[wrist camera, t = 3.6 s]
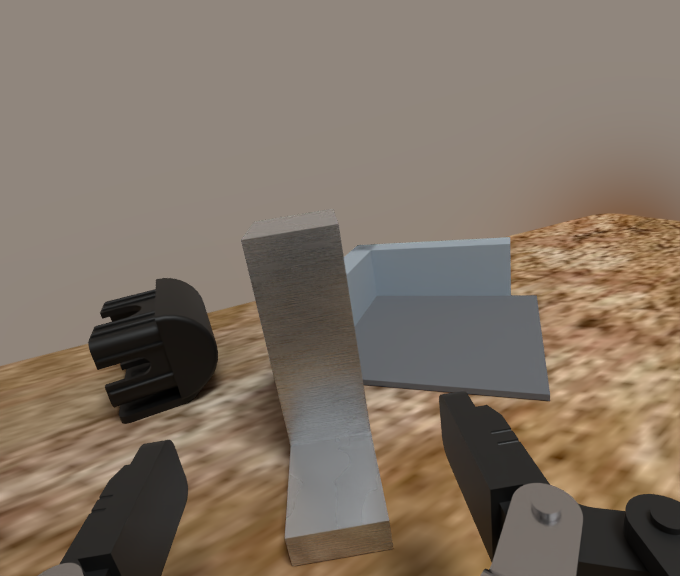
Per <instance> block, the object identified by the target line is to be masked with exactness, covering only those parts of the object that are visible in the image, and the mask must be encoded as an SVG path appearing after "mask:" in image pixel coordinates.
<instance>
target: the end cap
mask: <svg viewBox="0 0 680 576" xmlns="http://www.w3.org/2000/svg"><path fill="white" fill-rule="evenodd" d="M100 314H101V316H102V318H106V317H110V318H111V320H112V322H109V323H106V324H102V325H98V326H96V327H94V330H93V332H92V334H91V336H90V339H89V342H88V343H89V349H90V353H91V355H92V358H93V360H94V362H95V365H96V367H97V370H99V369H102V368H106V367H109V366H112V365H116V364H119V363H121V368H122V370H124V369H126V375H125V379H122V380H119V381H116V382H113V383H109V384H106V385H105V389H106V392H107V394H108V396H109V399H110V401H111V404H112V405H113V407H117V406H120V410H119V417H120V419H121V421H122V423H125V424H127V423H131V422H134V421H137V420H140V419H143V418H146V417H149V416H152V415H155V414H158V413H161V412H163V411H166V410H169V409H172V408H175V407H178V406H181V405H184V404H186V403H187V402H189V401H191V400H192V399H194V397H195V396H196V395H197V394H198V393H199V391H200V390H201V389H202V388H203V386H205V385H206V383H207V382H208V381H209V380H210V378H211V377H212V375H213V373H214V371H215V369H216V365H217V361H218V350H217V344H216V341H215V338H214V335H213V331H212V328H211V325H210V322H209V318H208V315H207V312H206V309H205V305H204V303H203V300H202V298H201V296H200V295H199V293H198V292H197V291H196V290H195V289H194V288H193V287H192V286H190V285H189V284H187V283H185V282H183V281H181V280H177V279H171V278H162V279H157V280H156V289H155V290H151V291H147V292H143V293H139V294H136V295H131V296H127V297H123V298H120V299H116V300H112V301H108V302H105V303H104V305H103V308H102V310H101V312H100Z"/></svg>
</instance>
